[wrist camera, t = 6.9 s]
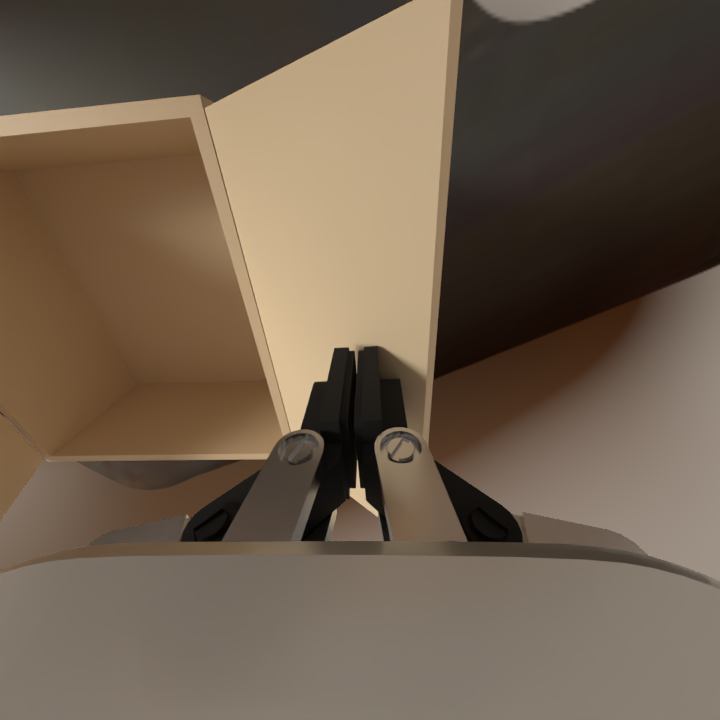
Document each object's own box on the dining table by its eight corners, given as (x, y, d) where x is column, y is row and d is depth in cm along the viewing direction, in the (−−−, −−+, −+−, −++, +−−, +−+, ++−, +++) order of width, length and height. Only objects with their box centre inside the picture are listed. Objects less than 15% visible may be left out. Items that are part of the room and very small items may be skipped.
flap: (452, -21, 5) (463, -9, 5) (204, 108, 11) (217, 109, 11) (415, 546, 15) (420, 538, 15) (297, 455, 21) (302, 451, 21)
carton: (8, 162, 20) (-253, 143, 12) (278, 137, 19) (199, 94, 10) (138, 385, 31) (47, 461, 22) (319, 380, 29) (297, 458, 21)
